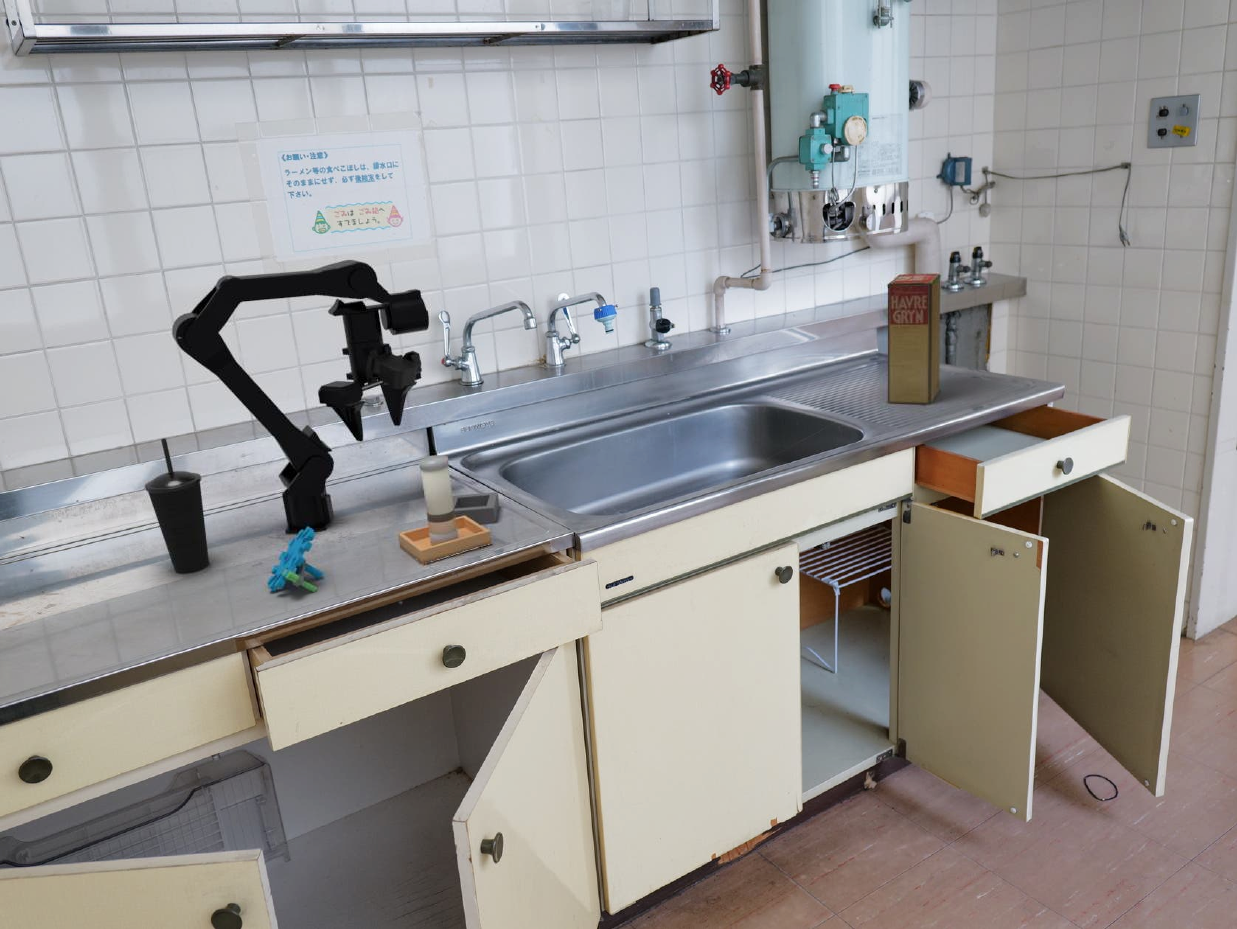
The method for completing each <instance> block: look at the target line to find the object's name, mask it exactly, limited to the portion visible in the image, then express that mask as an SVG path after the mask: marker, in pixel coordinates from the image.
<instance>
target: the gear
mask: <svg viewBox="0 0 1237 929" xmlns="http://www.w3.org/2000/svg"><path fill="white" fill-rule="evenodd" d="M297 533H298V534H297V536H296V538H294V537H293V538H292V539H291V540H290V541H289V542H288V546H287V549H286V551H284V550H283V551H282V552H281V553H280V555H279V556H278V560H279V561H280V562H279V564H278V565H277V564H275V565H274V566H273V567H272V569H271V571H270V573H271V574H272V575H271V576H270V577H269V578H268V580H267V583H266V584H267V585H268V589H270V590H271V591H272V592H276V591H277V589H280V590H281V589H282V588H284V586H285V584H286V581H287V580H288V581H291V582H292V585H294V586H295V587H297V588H298V587H299V586H302V587H304V588H306V590H307V589H308V590H310V591H311V592H313V593H315V592H316V590H317V586H315V585H313V584H312V583H310V582H308V581H306V580H304V579H305V574H306V573H308V574H310V575H311V576H313V577H314V578H317V579H318V580H321V578H322V577H323V575H324V572H322V571H321V570H320V569H317V568H315V567H314V566H313V565H310V564H309V563H307V559H306V558H305V557H304V553H305V552H307V553H309V552H310V550H311V548H312V547H313V545H314V543H312V542H313V540H314V539H315V537H316V531H314V530H313V529H312V528H310V527H307V528H306V529H305V531H304V530H301V531H300V532H297ZM305 572H306V573H305Z"/></svg>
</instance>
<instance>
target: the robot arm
mask: <svg viewBox="0 0 1237 929" xmlns="http://www.w3.org/2000/svg"><path fill="white" fill-rule="evenodd" d="M313 296H321V297H332V298H336V299H335V300H334V303H333V305H332V306H331V307H330V308H329V309H328V310H327V312H328V314H330V316H333V317H339V316H341V317H342V321H343V322H342V323H343V329H344V336H345V341H346V347H343V348H341V352H342V355H343V356H348V360H349V367H350V372H348V373H345V375H346V380H347V381H345V380H344V381H343V380H335V381H332V382H329V383H326V384H323V385H322V384H321V386H320V387H319V389H318V390H317V393H318V394H317V395H318V401H319V404H320V405H322V404H323V405H325V406H326V407H327V408H331V409H332V410H333V411H334V412H335V413H336V415H337V416H338V417H339V418H340V419H341V421H342V422H343V424H344V425H345V426H346V427H347V429H348V431H349V433H351V435H352V436H353V437H354V439H355V441H357V442H363V441H364V427H363V420H362V412H361V411H362V409H363V407H364V405H365V404H366V401H365V400H362V398H363V396H364V392H365V391H369V390H370V389H373V388H376V387H379V386H380V389H381V392H382V396H383V398H384V401H385V404H386V407H387V409H388V413H389V416H390V419H391V421H392V423H393V425H394V426H395V427H400V426H401V423H402V419H403V412H404V409H405V402H406V398H407V395H408V393H409V392H410V390H411V389H413V387H414V386H416V385H417V383H418V381H419V380H420V379H422V373H421V372H422V371H423V368H422V360H421V356H420V353H419V352H417V351H414V350H410V351H408V352H405V353H404V354H403V355H402V354H399V355H397V354H396V355H395V354H393V350H392V346H391V345H390V343H389V342H388V343H384V338H383V330H382V327H383V329H384V331H389V333H390V334H391V335H392V336H397V335H404V334H410V333H416V332H425V331H427V330H428V329H429V326H430V317H429V310H428V309H427V307H426V304H425V301H424V299H423V297H422V291H421V290H420V289H418V288H417V289H416V288H413V289H408V290H406V291H400V292H393V293H389V291H388V290H386V289H385V288H384V287H383V286H382V285H381V283H380V282H378V276H377V272H376V271H375V270H374V268H373V267H372V266H371V265H370V264H368V263H367V262H364V261H359V260H355V259H346V260H341V261H338V262H335V263H330V264H326V265H323V266H321V267H318V268H313V269H310V270H302V271H301V270H300V271H299V270H298V271H289V272H288V271H287V272H285V271H284V272H274V273H273V272H272V273H262V274H261V273H259V274H250V275H231V274H229V275H223V276H222V277H220V278H219V279H218V280H217V281H216V284H215V285H214V287H212V288H211V290H210V291H209V292H208V293H207V294H206V295H205V296H204V297H203V298H202V299H201V300H200V301H199V302H198V303H197V304H196V306H195V307H194V308H193V309H192V310H191V312H187V313H183V314H182V315H180V316H178V317H177V318H176V319H175V321H174V322H173V324H172V329H171V330H172V331H171V333H172V334H171V335H172V338H173V340H174V341H175V342H176V344H177V345H178V347H179V348H180V349H181V351H182V352H184V353H185V354H186V355H187V356H189V357H191V358H192V359H194V361H196V362H197V363H198V364H200V365H201V366H203V367H204V368H205V369H207V370H208V371H210V372H211V374H214V375H215V376H216V377H217V378H218V379H219V380H220V381H221V382H222V383H223V384H224V386H225V387H227V388H228V389H229V391H230V392H231V393H232V394H233V395H234V396H235V397H236V398H237V399H238V401H239V402H241V404H242V405H243V406H244V408H246V409H247V410H248V411H249V413H250V414H252V415H253V416H254V417H255V419H256V420H257V421H258V422H259V423H260V424H261V426H262V427H264V428H265V430H267V432H268V433H269V434H270V435H271V436H272V437H273V438H274V440H275V442H276V443H277V445H278V446H279V447H280V449H281V451H282V453H283V454H284V456H285V458H286V459H287V461H288V462H287V463H286V465H285V466H284V467H283V469H282V470H280V471H281V472H280V473H279V474H278V478H279V480H280V481H281V483H282V484H283V486H284V488H286V489H285V490H284V491H283V492H282V494H281V497H282V502H283V509H284V512H285V516H286V518H285V519H286V524H287V526H286V527H285V529H284V532H285V534H293V533H294V534H295V533H299V532H300V531H301V530H304V531H305V529H306V528H307V527H310V528H312V529H313V530H314V531H313V532H316V531H318V532H319V531H325V530H326V529H327V528H328V527H329V525H330V523H331V522H333V519H334V518H335V514H334V509H333V508H334V507H333V503H332V496H331V494H330V493H328V492H327V487H326V484H327V480H328V478H329V477H330V476H332V473H333V471H334V468H335V467H334V465H335V460H334V459H333V458H334V457H333V456H332V455H331V454H330V452H332V451H333V450H332V448H331V447H329V445H328V444H327V443H325V441H323V440H321V438H320V436H319V435H318V433H317V432H316V431H315V430H314V429H313V428H312V427H311V426H310V425H308V424H306V425H305V426H304V428H303V429H300V428H299V427H298V426H296V425H295V424H294V423H293V422H292V421H291V420H290V419H289V417H287V415H286V414H284V412H283V411H282V410H281V409H280V408H279V407H278V406H277V404H275V402H274V401H273V400H272V399H271V398H270V397H269V396H268V395H267V394H266V393H265V392H264V390H263V389H262V388H261V387H260V386H259V385H258V384H257V383H256V382H255V380H254V379H253V378H252V377H251V376H250V375H249V374H248V373H247V371H246V370H245V369H244V368H243V367H242V366H241V365H240V364H239V363H238V362H237V360H236V358H235V357H234V356H233V354H232V352H231V350H230V349H229V347H228V345H227V343H226V342H225V340H224V339H223V337H222V335H221V334H220V332H221V331H222V329H223V328H224V327H225V326H226V324H227V323H228V321H229V320H230V318H231V316H232V315H233V313H234V312H235V311H236V309H238V307H239V305H240V304H242V303H243V302H255V301H267V300H278V299H287V298H288V299H290V298H301V297H313ZM339 298H340V299H339ZM343 298H344V299H351V300H353V299H354V300H356V301H350V302H349V301H348V302H344V301H343V300H342V299H343ZM365 299H368V300H370V301H374V302H376V303H377V304H371V305H367V304H366V303H365V302H364V301H363V300H365ZM357 300H358V301H357ZM378 303H379V304H378ZM417 380H418V381H417Z"/></svg>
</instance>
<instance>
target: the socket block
mask: <svg viewBox="0 0 1237 929" xmlns="http://www.w3.org/2000/svg"><path fill="white" fill-rule="evenodd" d="M452 497H453V504H454V509H455V518H457V517H461V516H464V515H465V516H467V517H468V518H470V519H471V520H473V521H475V522H476V523H478V524H479V525H485V524H495V523H497V522H496V521H497V518H498V513H499V509H500V500H499V493H498V492H497V491H496V492H482V493H470V494H460V495H459V494H457V495H452Z"/></svg>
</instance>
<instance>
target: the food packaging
mask: <svg viewBox="0 0 1237 929" xmlns="http://www.w3.org/2000/svg"><path fill="white" fill-rule="evenodd" d="M941 276H942V275H941V274H940V273H914V274H913V273H908V274H906V273H905V274H898V275H897V276H896V277H894V278H893V280H891V281H890V282H889V283H887V285H886V286H887V404H894V405H895V404H897V405H927V406H928V405H929V406H930V405H932V403H933V402H934V400H935V398H936V397H937V396H938V395H939V393H940V370H941V369H940V365H941V364H940V362H941V361H940V360H941V359H940V358H941V357H940V356H941V355H940V352H941V351H940V350H941Z"/></svg>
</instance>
